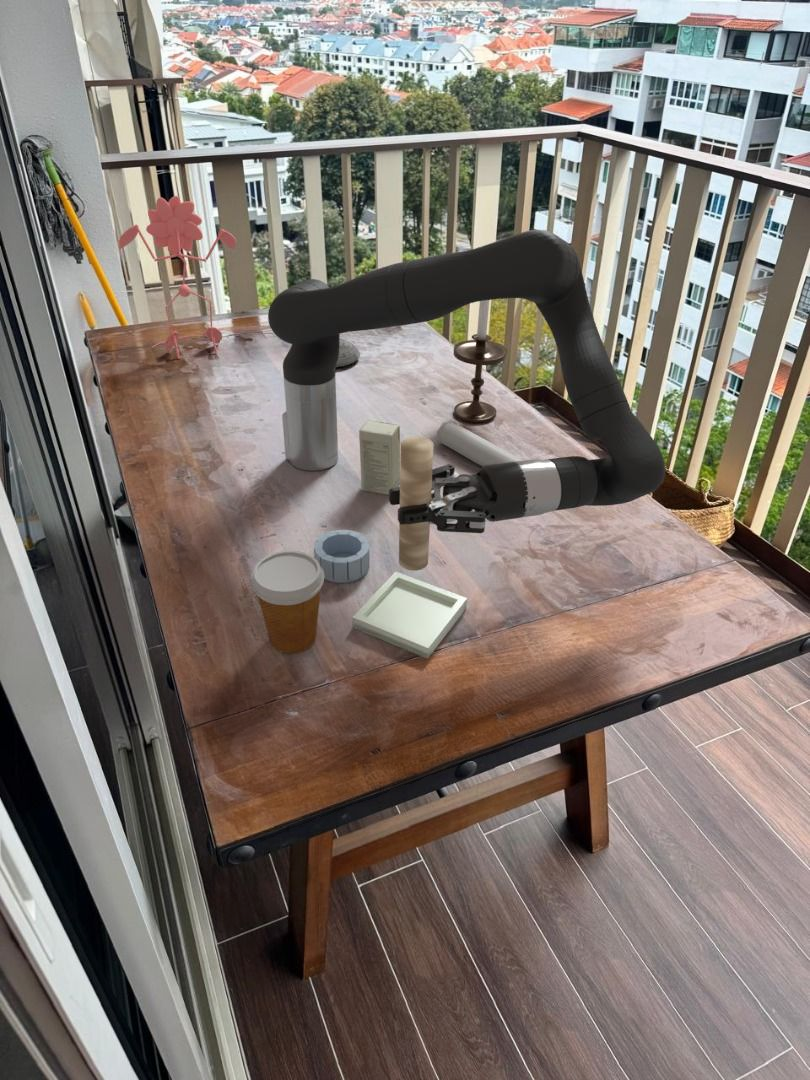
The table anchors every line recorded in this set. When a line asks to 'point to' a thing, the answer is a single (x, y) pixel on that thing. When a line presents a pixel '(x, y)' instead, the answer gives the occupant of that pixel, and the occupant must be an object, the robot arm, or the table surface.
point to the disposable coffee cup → (289, 598)
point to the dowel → (415, 500)
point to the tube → (472, 445)
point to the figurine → (178, 248)
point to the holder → (343, 555)
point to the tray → (410, 614)
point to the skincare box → (379, 456)
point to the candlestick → (478, 369)
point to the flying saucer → (347, 353)
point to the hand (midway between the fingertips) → (394, 506)
